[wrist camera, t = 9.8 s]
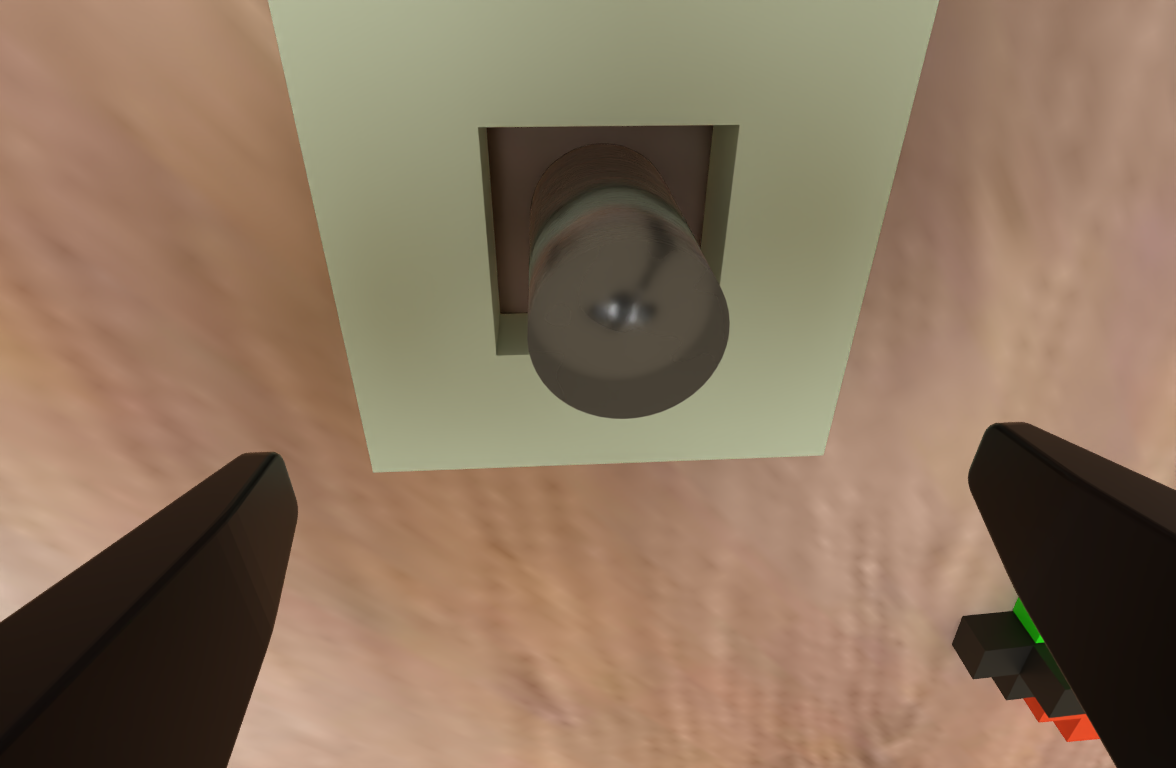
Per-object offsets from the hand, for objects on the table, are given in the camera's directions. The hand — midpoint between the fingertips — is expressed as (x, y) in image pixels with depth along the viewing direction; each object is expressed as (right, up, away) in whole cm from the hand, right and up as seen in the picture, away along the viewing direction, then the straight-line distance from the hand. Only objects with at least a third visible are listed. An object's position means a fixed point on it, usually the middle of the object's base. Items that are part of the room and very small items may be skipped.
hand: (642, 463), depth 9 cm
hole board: (0, +6, +10) cm, 12 cm away
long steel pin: (0, +6, +10) cm, 12 cm away
